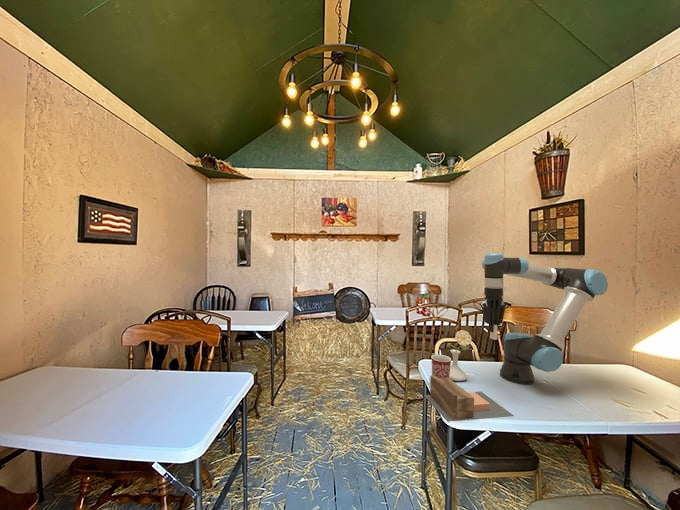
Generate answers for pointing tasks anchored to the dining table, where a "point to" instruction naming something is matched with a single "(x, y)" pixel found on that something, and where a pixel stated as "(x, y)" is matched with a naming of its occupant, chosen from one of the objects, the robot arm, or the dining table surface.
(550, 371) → the robot arm
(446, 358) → the mug
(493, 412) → the mat
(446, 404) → the grooved wooden block
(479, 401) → the tile
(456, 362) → the flower in vase
